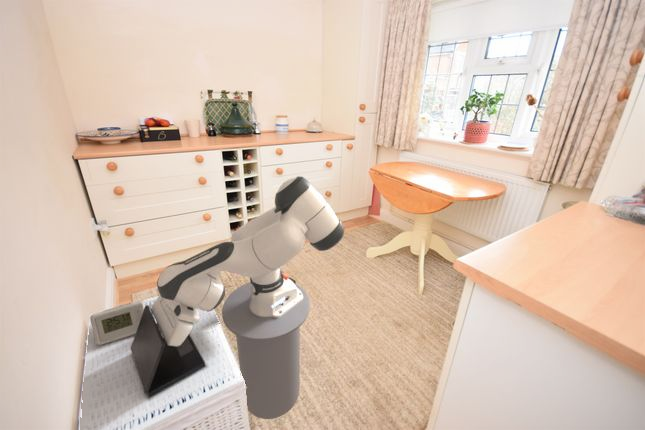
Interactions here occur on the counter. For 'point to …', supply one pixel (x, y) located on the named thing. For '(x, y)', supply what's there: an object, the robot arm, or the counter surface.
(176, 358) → the laptop
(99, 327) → the digital clock
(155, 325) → the laptop screen
